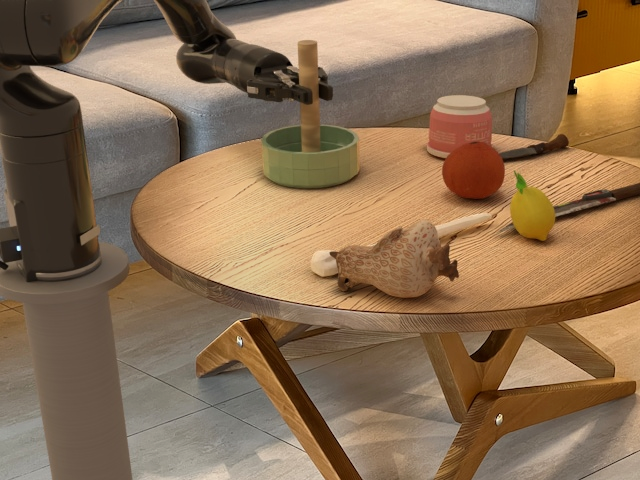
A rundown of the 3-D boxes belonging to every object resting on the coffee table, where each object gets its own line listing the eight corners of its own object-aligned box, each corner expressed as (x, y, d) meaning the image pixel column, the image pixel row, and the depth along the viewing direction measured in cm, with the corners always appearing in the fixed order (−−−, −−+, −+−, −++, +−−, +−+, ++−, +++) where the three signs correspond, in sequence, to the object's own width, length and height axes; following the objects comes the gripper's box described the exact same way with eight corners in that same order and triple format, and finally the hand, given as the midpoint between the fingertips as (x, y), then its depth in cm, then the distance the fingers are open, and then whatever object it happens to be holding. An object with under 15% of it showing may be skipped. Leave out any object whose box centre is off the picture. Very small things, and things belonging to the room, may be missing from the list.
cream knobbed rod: (475, 215, 148) (475, 195, 147) (496, 222, 145) (495, 202, 144) (304, 271, 133) (302, 249, 132) (323, 280, 130) (321, 258, 129)
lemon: (547, 235, 136) (517, 162, 137) (513, 252, 140) (483, 181, 141) (575, 228, 141) (546, 157, 142) (541, 245, 145) (512, 176, 146)
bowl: (286, 196, 156) (284, 159, 154) (249, 167, 167) (246, 132, 165) (375, 179, 162) (375, 144, 160) (333, 152, 174) (333, 119, 171)
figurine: (456, 317, 125) (341, 306, 132) (475, 243, 129) (362, 236, 135) (431, 282, 118) (310, 272, 124) (451, 204, 121) (332, 199, 128)
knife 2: (497, 239, 141) (659, 192, 157) (497, 226, 141) (660, 179, 156) (483, 234, 144) (645, 188, 159) (483, 221, 143) (645, 176, 158)
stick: (304, 168, 161) (299, 47, 153) (292, 160, 165) (287, 40, 157) (331, 164, 163) (327, 43, 155) (318, 155, 167) (314, 37, 159)
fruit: (450, 183, 161) (451, 130, 157) (509, 189, 158) (511, 135, 155) (433, 203, 153) (434, 148, 150) (495, 210, 151) (498, 154, 147)
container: (418, 104, 168) (417, 155, 171) (484, 111, 164) (482, 162, 168) (439, 90, 177) (438, 139, 180) (502, 96, 174) (500, 145, 177)
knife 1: (563, 132, 176) (578, 138, 172) (563, 145, 177) (578, 151, 173) (468, 146, 172) (481, 153, 167) (469, 159, 172) (481, 166, 168)
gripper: (216, 54, 164) (278, 77, 152) (295, 40, 172) (359, 62, 159) (220, 102, 167) (280, 130, 155) (297, 87, 175) (360, 112, 163)
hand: (320, 95), depth 157 cm, fingers closed on stick, 3 cm apart
